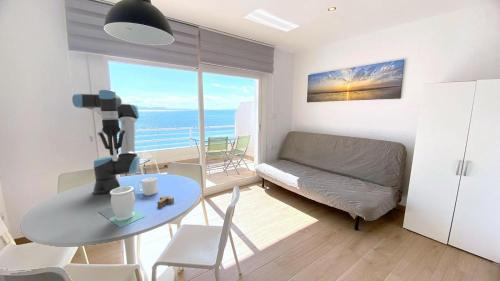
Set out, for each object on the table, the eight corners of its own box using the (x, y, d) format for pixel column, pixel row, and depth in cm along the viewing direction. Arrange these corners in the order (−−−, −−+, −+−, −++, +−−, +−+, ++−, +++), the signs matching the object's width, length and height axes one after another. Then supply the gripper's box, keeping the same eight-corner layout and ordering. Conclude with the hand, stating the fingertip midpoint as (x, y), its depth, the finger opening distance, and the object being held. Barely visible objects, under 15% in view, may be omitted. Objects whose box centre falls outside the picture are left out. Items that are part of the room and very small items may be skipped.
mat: (98, 212, 111) (98, 211, 111) (122, 203, 120) (122, 203, 120) (120, 227, 96) (120, 227, 96) (145, 216, 106) (145, 216, 106)
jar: (120, 212, 110) (117, 185, 108) (140, 211, 111) (137, 185, 109) (108, 222, 100) (104, 194, 98) (129, 222, 100) (126, 193, 98)
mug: (160, 190, 141) (159, 177, 139) (153, 195, 132) (152, 182, 130) (144, 189, 142) (142, 177, 140) (136, 195, 133) (134, 181, 131)
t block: (153, 206, 117) (153, 201, 117) (162, 200, 125) (162, 195, 124) (165, 208, 115) (165, 203, 115) (174, 201, 123) (173, 197, 123)
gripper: (98, 119, 103) (104, 164, 107) (126, 118, 114) (130, 159, 118) (93, 119, 107) (98, 161, 112) (120, 118, 118) (124, 157, 122)
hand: (115, 160), depth 115 cm, fingers closed
